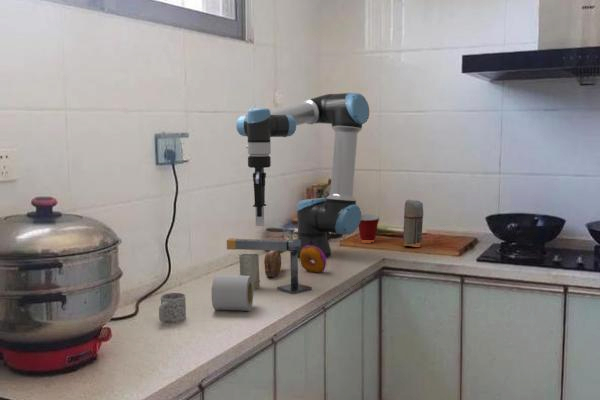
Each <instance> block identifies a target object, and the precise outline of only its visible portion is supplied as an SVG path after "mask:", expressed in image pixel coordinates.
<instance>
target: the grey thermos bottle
mask: <svg viewBox="0 0 600 400" xmlns="http://www.w3.org/2000/svg"><path fill="white" fill-rule="evenodd" d="M403 211H404V213H403V232H402V233H403V235H402V236H403V237H402V243H403V242H404V243H407V244H416V243H421V242H422V241H423V221H424V204H423V202H422V201H420V200H415V199H414V200H413V199H406V200H405V202H404V210H403Z"/></svg>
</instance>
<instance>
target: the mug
mask: <svg viewBox="0 0 600 400" xmlns="http://www.w3.org/2000/svg"><path fill="white" fill-rule="evenodd" d="M158 319H159V322H161V323H166V324H175V323H180V322H184V321H185V320H187V307H186V294H185V293H182V292H168V293H164V294H162V295H161V296H160V305H159V307H158Z"/></svg>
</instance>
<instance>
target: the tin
mask: <svg viewBox="0 0 600 400" xmlns="http://www.w3.org/2000/svg"><path fill="white" fill-rule="evenodd" d="M263 262H264V273H265V276H266V277H267V278H275V277H277V275H278V274H279V273H280V272H281V269H282V268H281V267H282V256H281V252H280V251H274V250H269V251H268V252H267V253H266V254H265V256H264V261H263Z"/></svg>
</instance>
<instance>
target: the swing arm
mask: <svg viewBox="0 0 600 400" xmlns="http://www.w3.org/2000/svg"><path fill="white" fill-rule="evenodd" d="M226 250H232V251H233V250H247V251H248V250H249V251H271V250H274V251H281V252H283V251H284V252H287V251H288V252H290V251H293V252H294V251H300V250H301V240H299V239H297V238H291V239H287V240H285V239H284V240H283V239H253V238H252V239H249V238H248V239H247V238H231V237H230V238H228V239H227V240H226Z"/></svg>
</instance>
